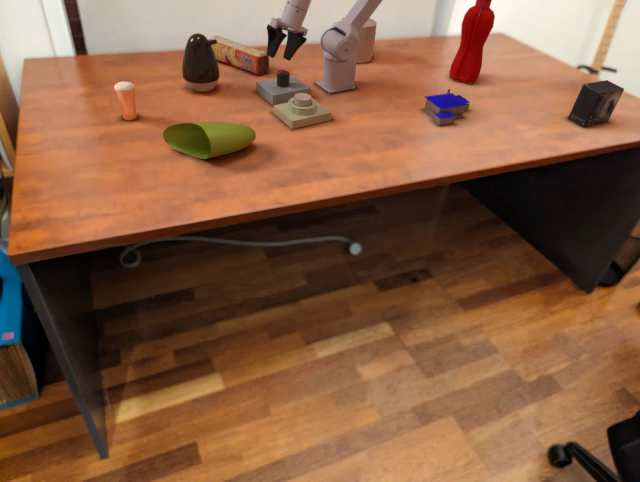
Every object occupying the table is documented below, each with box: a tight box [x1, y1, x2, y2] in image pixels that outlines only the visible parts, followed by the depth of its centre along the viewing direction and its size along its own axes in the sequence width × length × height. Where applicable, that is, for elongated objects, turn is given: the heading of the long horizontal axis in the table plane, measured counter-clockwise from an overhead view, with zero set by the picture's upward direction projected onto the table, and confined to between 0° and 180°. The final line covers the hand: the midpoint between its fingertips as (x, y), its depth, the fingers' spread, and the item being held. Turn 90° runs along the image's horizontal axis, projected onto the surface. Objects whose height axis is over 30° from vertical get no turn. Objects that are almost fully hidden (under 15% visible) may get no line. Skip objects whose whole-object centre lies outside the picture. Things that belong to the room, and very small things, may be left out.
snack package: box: [208, 35, 270, 76], centre depth 154 cm, size 21×7×7 cm, turn 56°
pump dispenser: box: [181, 32, 221, 93], centre depth 137 cm, size 10×10×15 cm
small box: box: [567, 79, 625, 128], centre depth 140 cm, size 11×6×10 cm, turn 117°
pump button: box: [294, 93, 313, 107], centre depth 130 cm, size 5×5×2 cm
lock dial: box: [276, 69, 291, 87], centre depth 139 cm, size 4×4×4 cm
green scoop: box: [162, 121, 257, 160], centre depth 113 cm, size 8×12×20 cm
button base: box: [272, 97, 332, 130], centre depth 131 cm, size 12×10×4 cm
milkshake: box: [113, 74, 138, 121], centre depth 122 cm, size 4×5×10 cm
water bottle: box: [449, 0, 496, 84], centre depth 153 cm, size 9×11×25 cm
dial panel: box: [255, 75, 311, 106], centre depth 141 cm, size 12×10×3 cm
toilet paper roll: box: [341, 16, 377, 64], centre depth 166 cm, size 12×12×12 cm
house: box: [423, 88, 471, 126], centre depth 138 cm, size 11×14×6 cm
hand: (278, 57), depth 134 cm, fingers open, 7 cm apart
